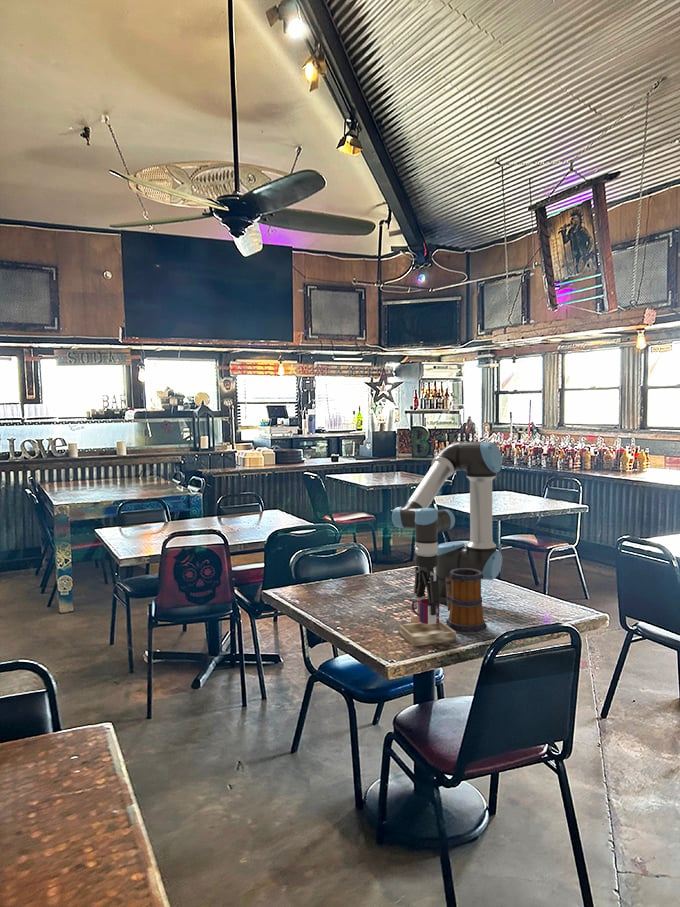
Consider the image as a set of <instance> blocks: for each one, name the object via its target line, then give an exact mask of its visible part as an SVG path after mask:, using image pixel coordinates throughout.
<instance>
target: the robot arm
mask: <svg viewBox="0 0 680 907" xmlns="http://www.w3.org/2000/svg"><path fill="white" fill-rule="evenodd" d="M502 465H503V457H502V453H501V449H500V447H499V446H498V445H497V444H496V443H495V442H490V441H485V440H484V441H463V440H462V441H455V442H452V443H450V444H448V445H447V446H445V447H444V448H442V449H440V451H439V452H438V453H437V454H436V455H435V456H434V457H433V459H432V460H431V465H430V468H429V470H427V472H426V474H425V475H424V477H423V479H422V480H421V481H420V483H418V485H417V487H416V488H415V490H414V492H412V494H411V496H410V497H409V499H408V500H407V502H406V503H405V505H404V506H397V507H395V508H394V509H393V510H392V513H391V522H392V525H393V526H394V527H396V528H399V529H405V530H407V529H408V530H414V532H415V533H414V538H415V540H414V544H415V545H414V549H415V550H414V552H415V555H414V559H415V560H414V562H415V563H414V564H415V567H414V572H415V573H414V574H415V575H414V587H413V588H414V589H413V593H414V595H416V600H418V601H420V600H422V599H426V596H427V599H428V600H429V604H427V605H428V624H429V625H431V624H436V605H439V606H440V604H445V605H447V599H446V596H447V590H446V584H445V578H446V577H448V576H449V573H450V571H451V570H453V569H457V568H470V569H476V570H479V571H481V572H482V574H483V576H484V577H483V579H481V581H483V580H485V581H486V580H487V581H493V580H495V579H496V578H497V577H498V576H499V575H500V574H499V573H500V572H501V569H502V564H503V555H502V552H501V551H499V550H498V549H497V544H496V543H495V542H494V541H493V480H495V478H497V473H499V472H500V471H501V469H502ZM458 471H459V472H460V471H462V472H463V471H464V472H465V477H466V478H467V479H468V480H469V521H470V522H469V526H470V527H469V530H470V531H469V535H470V536H469V541H468V542H467V543H466V544H465V543H464V542H463V541H449V542H443V543H439V542H438V534H441V533H445V532H447V531H449V530H452V528H454V527H455V523H456V517H455V514H454V513H453V512H452V511H451V510H449V509H443V508H442V509H438V510H437V509H436V508H434V507H430V505H431V504H432V502H433V501H434V499H435V498H436V496H437V495H438V493H439V491H440V490H441V488H442V486H443V485H445V482H446V481H447V480H448V478H450V477H451V476H452V475H454V473H455V472H458ZM465 545H466V546H465ZM434 568H435V572H434ZM426 594H427V595H426ZM416 607H417V608H416V609H417V610H416V612H417V613H418V614H419V603H418V602H416ZM418 617H419V616H418Z"/></svg>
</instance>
